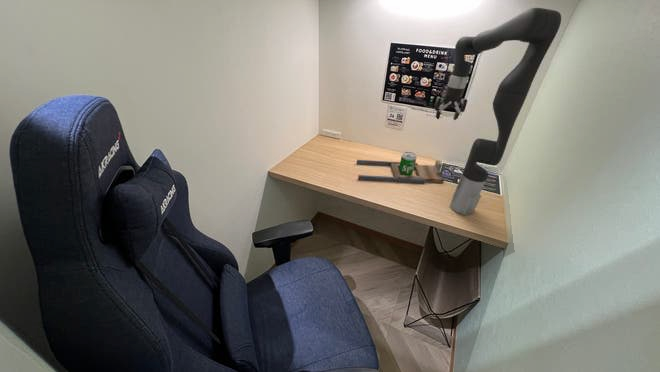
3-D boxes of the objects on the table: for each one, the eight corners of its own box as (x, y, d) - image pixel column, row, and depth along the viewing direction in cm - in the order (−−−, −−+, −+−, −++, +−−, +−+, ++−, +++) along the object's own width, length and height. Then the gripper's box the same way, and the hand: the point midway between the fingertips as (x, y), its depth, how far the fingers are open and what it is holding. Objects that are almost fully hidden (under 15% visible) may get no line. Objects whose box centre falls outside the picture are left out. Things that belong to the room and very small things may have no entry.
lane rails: (416, 166, 147) (417, 163, 146) (424, 183, 133) (425, 179, 131) (356, 163, 147) (357, 159, 146) (358, 180, 133) (358, 176, 132)
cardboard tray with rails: (435, 168, 145) (439, 156, 141) (443, 182, 134) (447, 169, 129) (390, 166, 146) (393, 153, 141) (394, 180, 134) (397, 166, 129)
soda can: (395, 175, 139) (400, 155, 132) (400, 169, 144) (404, 149, 137) (409, 179, 136) (415, 159, 129) (413, 173, 141) (418, 153, 134)
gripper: (468, 84, 124) (457, 117, 133) (438, 82, 124) (429, 115, 133) (475, 88, 118) (462, 122, 127) (443, 87, 118) (433, 121, 127)
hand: (445, 119), depth 130 cm, fingers open, 8 cm apart
